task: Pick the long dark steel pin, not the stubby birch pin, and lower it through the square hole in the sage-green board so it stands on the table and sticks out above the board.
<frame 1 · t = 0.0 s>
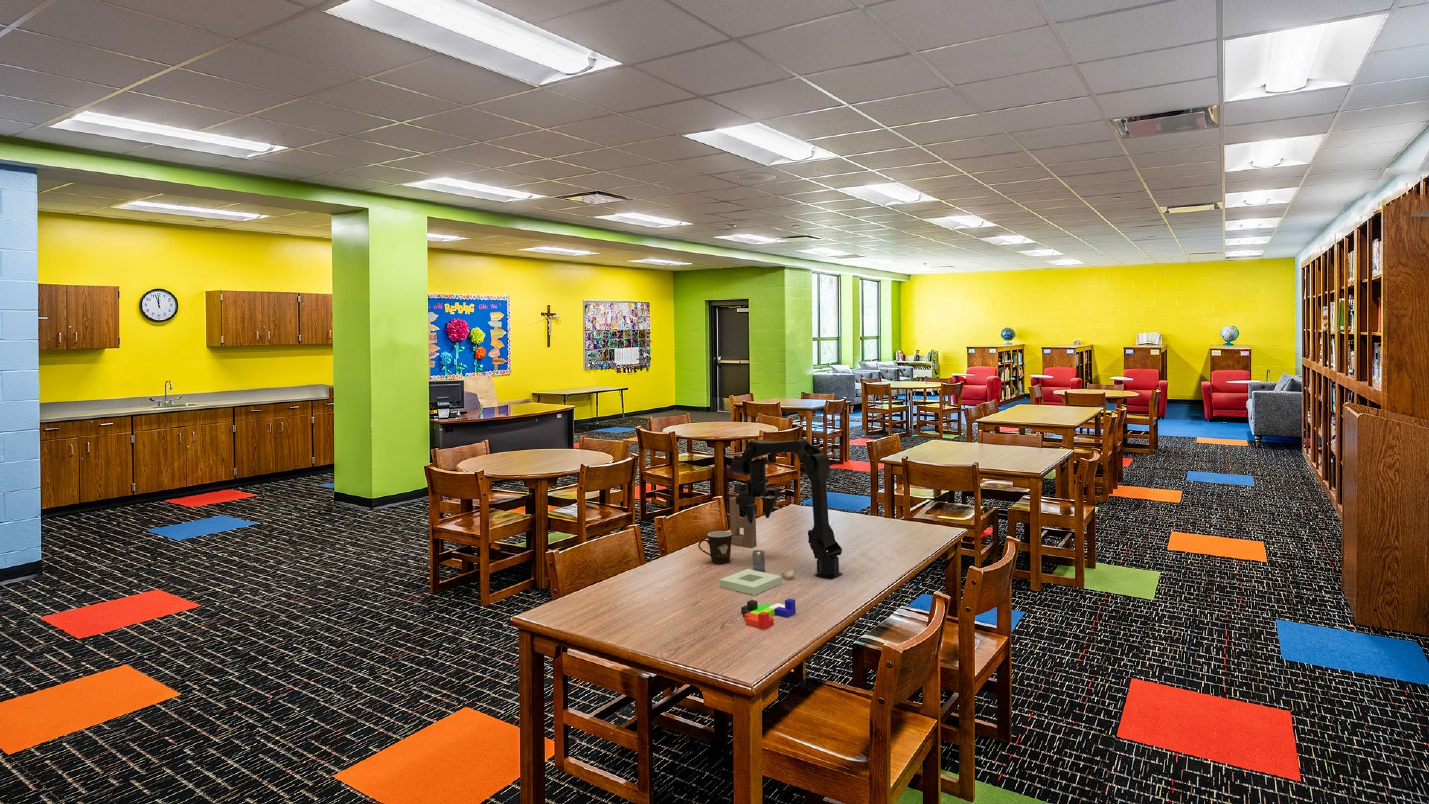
hand: (759, 520, 273), 15 cm above the table, tool pointing down, fingers open, 9 cm apart
wooden block: (742, 545, 297), on the table
building blocks: (761, 618, 219), on the table
short birch pin: (788, 578, 254), on the table
long steel pin: (759, 572, 262), on the table
coffee mug: (716, 562, 276), on the table
hole board: (751, 585, 247), on the table
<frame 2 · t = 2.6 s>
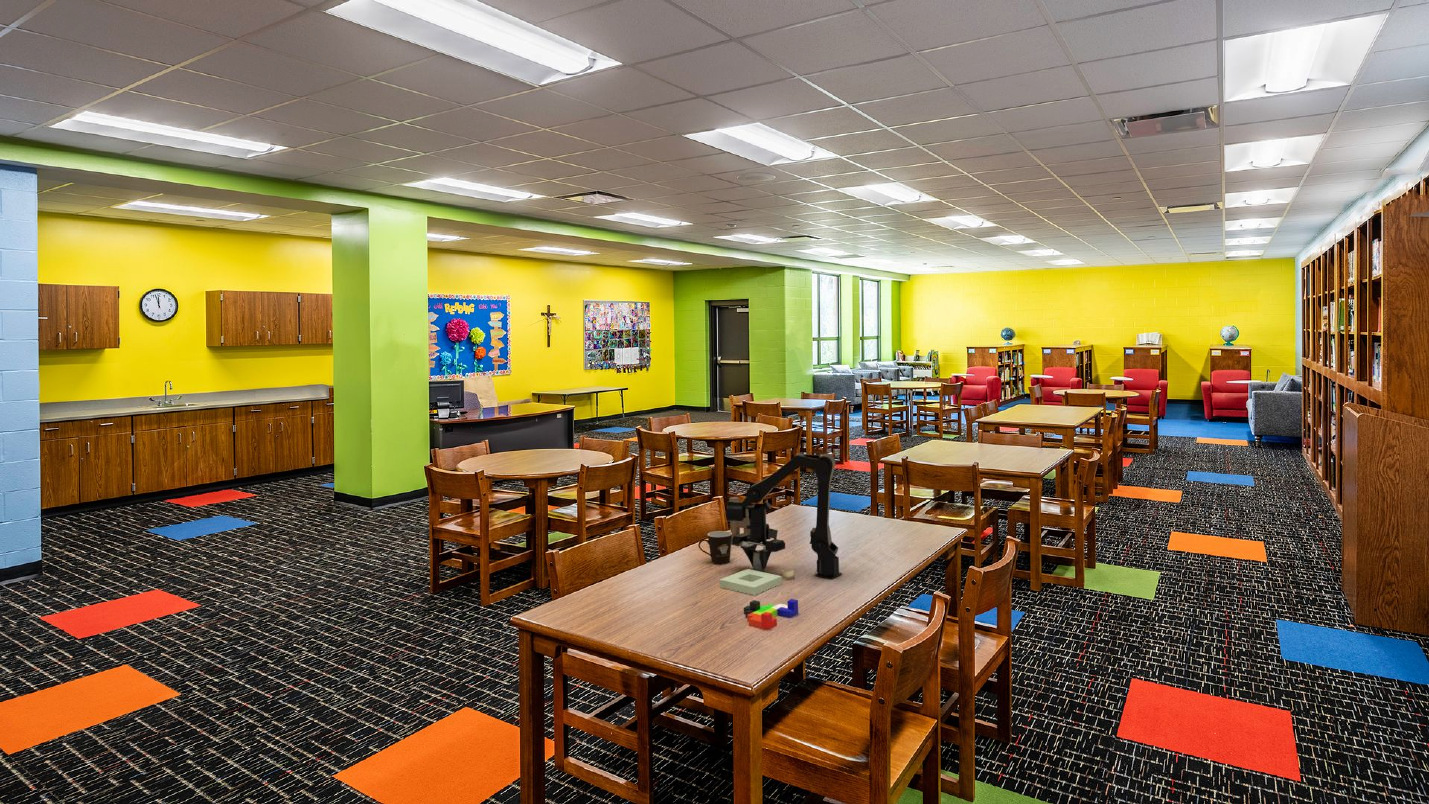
hand: (759, 567, 262), 2 cm above the table, tool pointing down, fingers closed on long steel pin, 4 cm apart
long steel pin: (759, 572, 262), on the table, touching gripper
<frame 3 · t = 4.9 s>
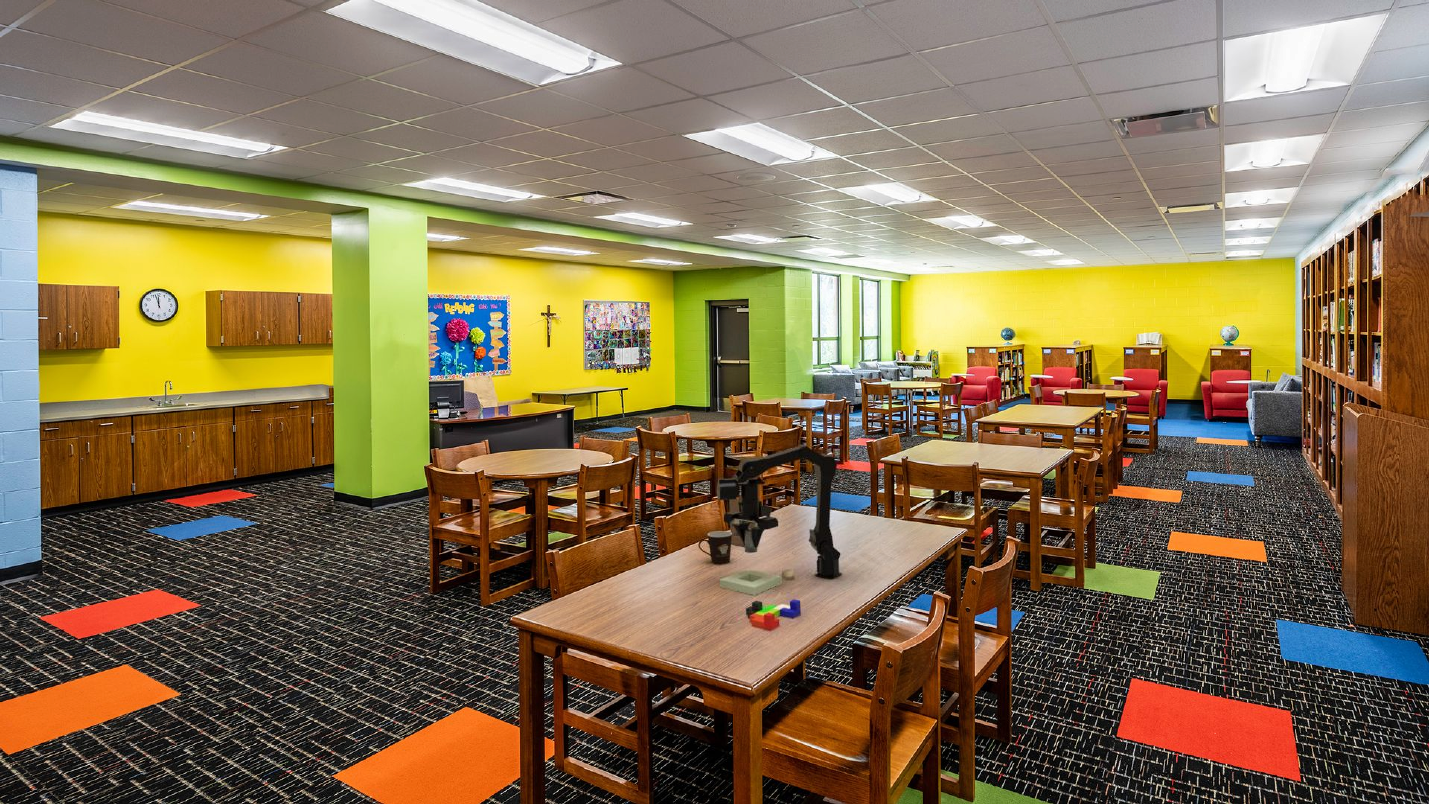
hand: (751, 546, 250), 12 cm above the table, tool pointing down, fingers closed on long steel pin, 4 cm apart
long steel pin: (751, 551, 250), point 10 cm above the table, touching gripper
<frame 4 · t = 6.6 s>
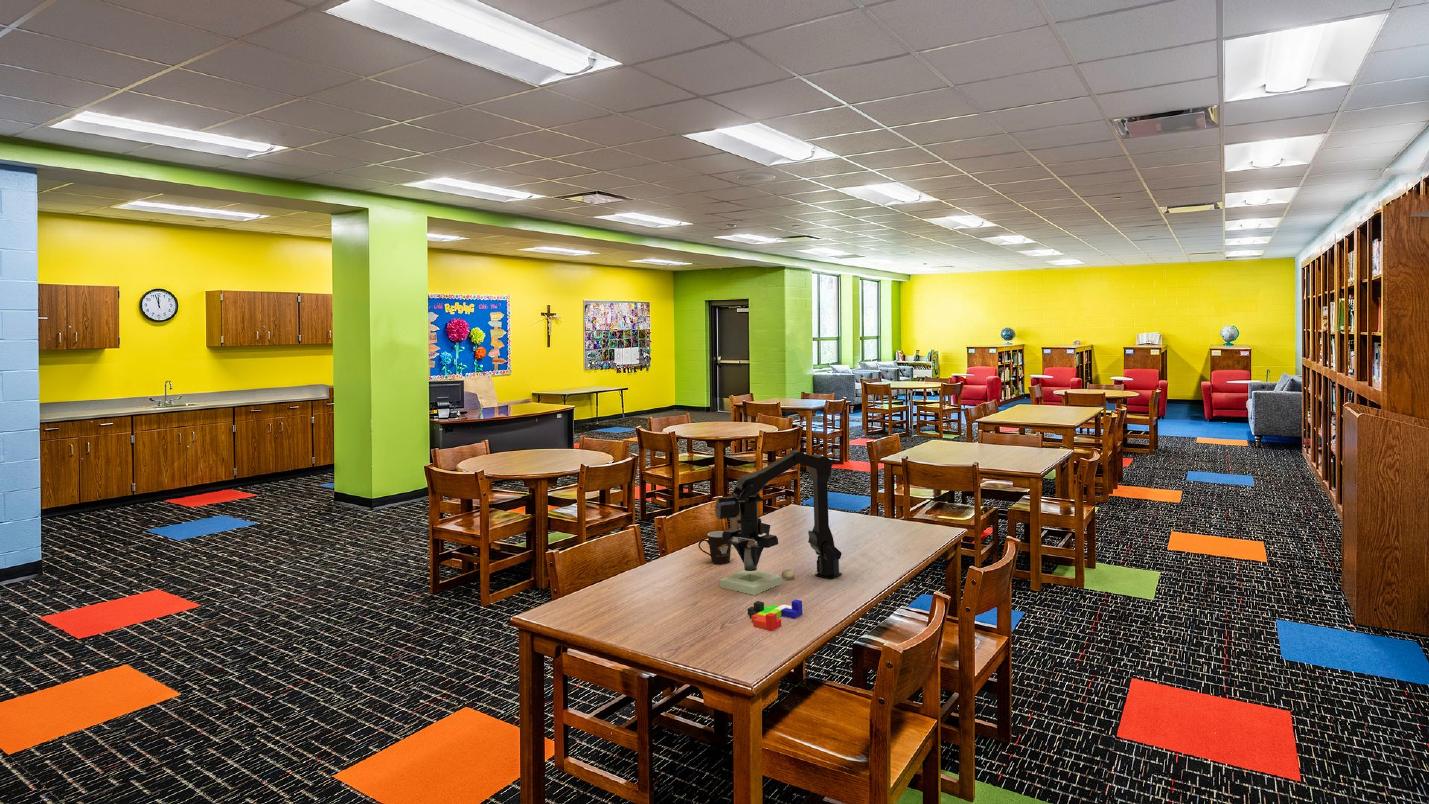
hand: (750, 564, 247), 7 cm above the table, tool pointing down, fingers closed on long steel pin, 4 cm apart
long steel pin: (750, 569, 247), point 5 cm above the table, touching gripper
when the fingers open (3 cm above the table, at t = 7.7 s): long steel pin drops 2 cm, resting in hole board.
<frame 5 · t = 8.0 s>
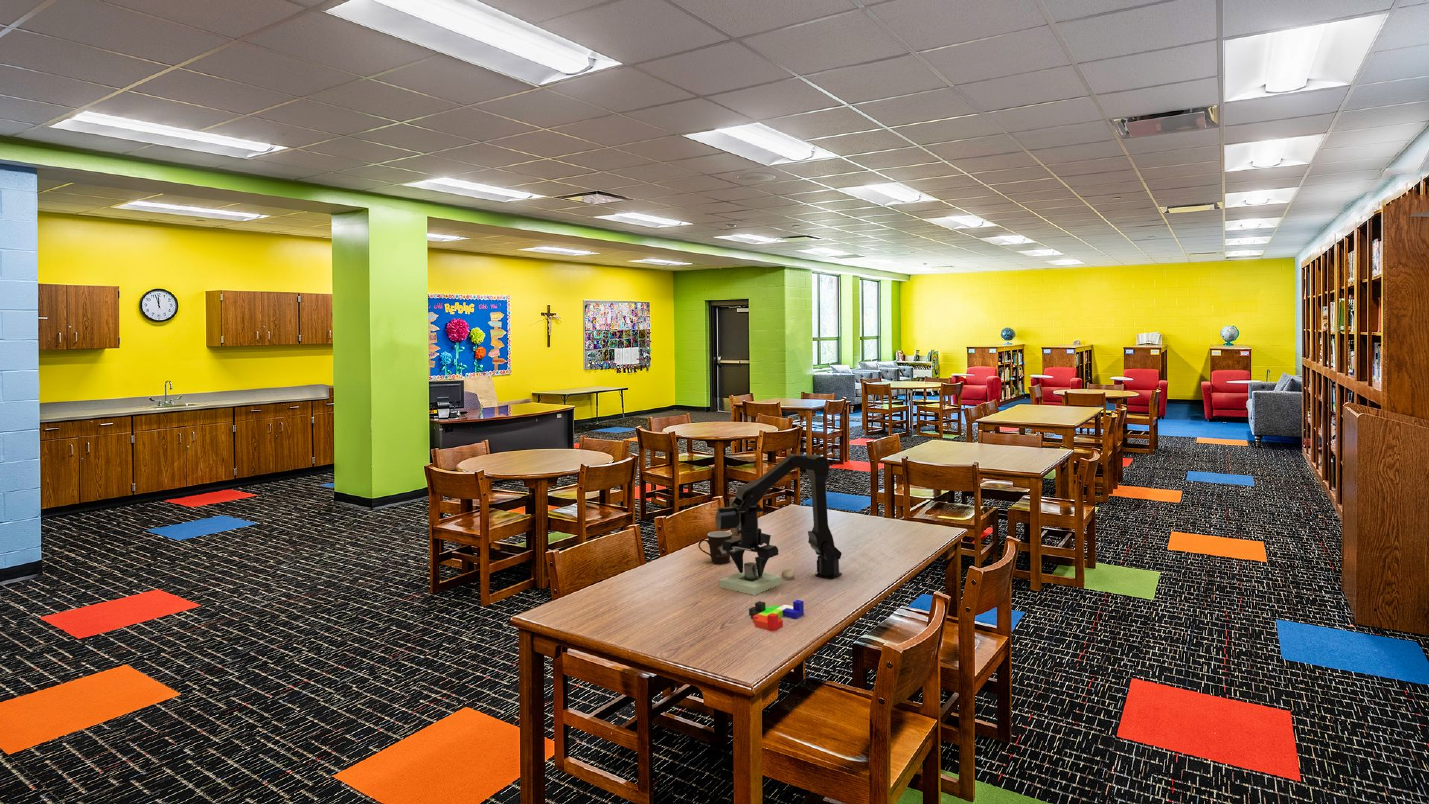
hand: (750, 574, 247), 3 cm above the table, tool pointing down, fingers open, 7 cm apart
long steel pin: (751, 585, 247), resting in hole board
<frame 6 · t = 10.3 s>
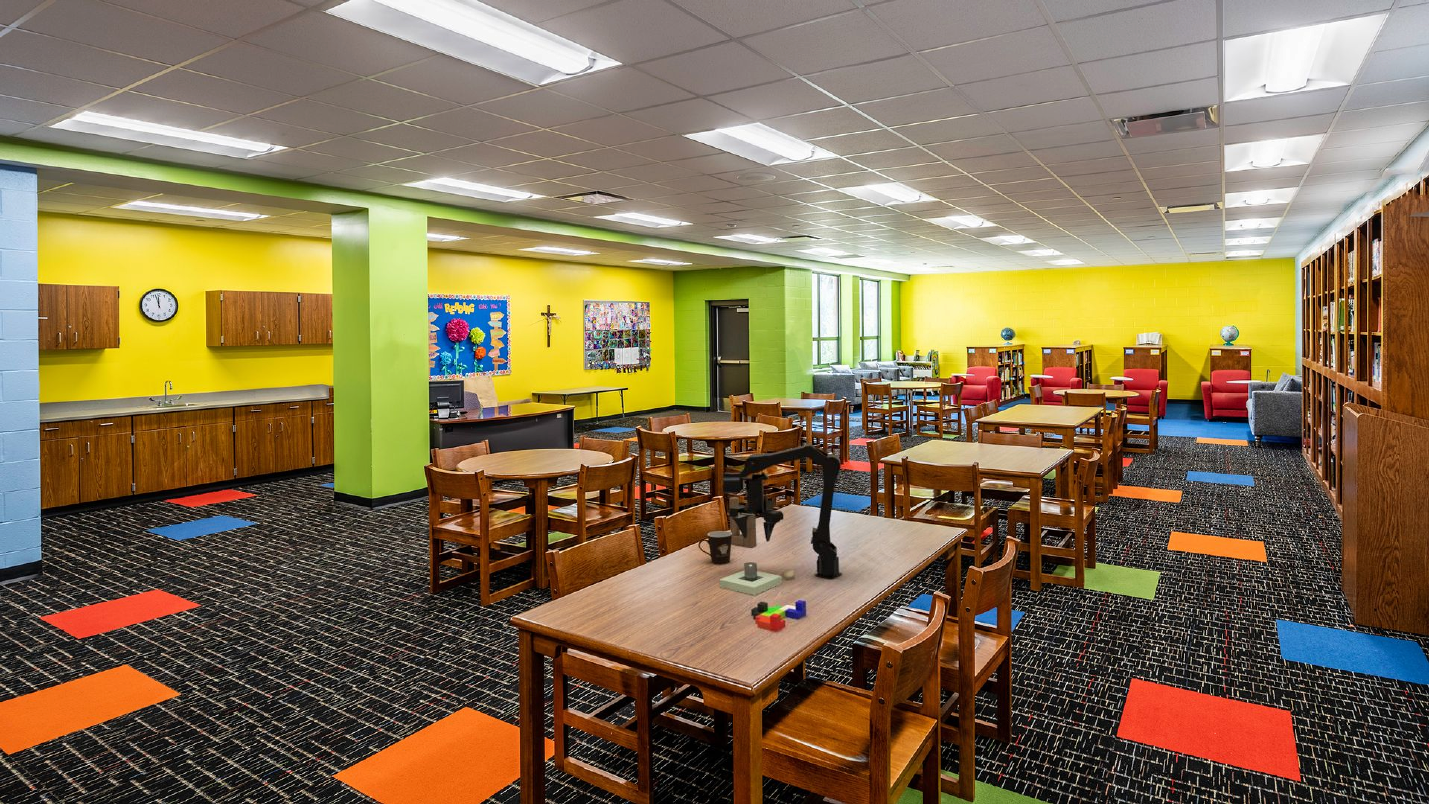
hand: (756, 539, 258), 12 cm above the table, tool pointing down, fingers open, 9 cm apart
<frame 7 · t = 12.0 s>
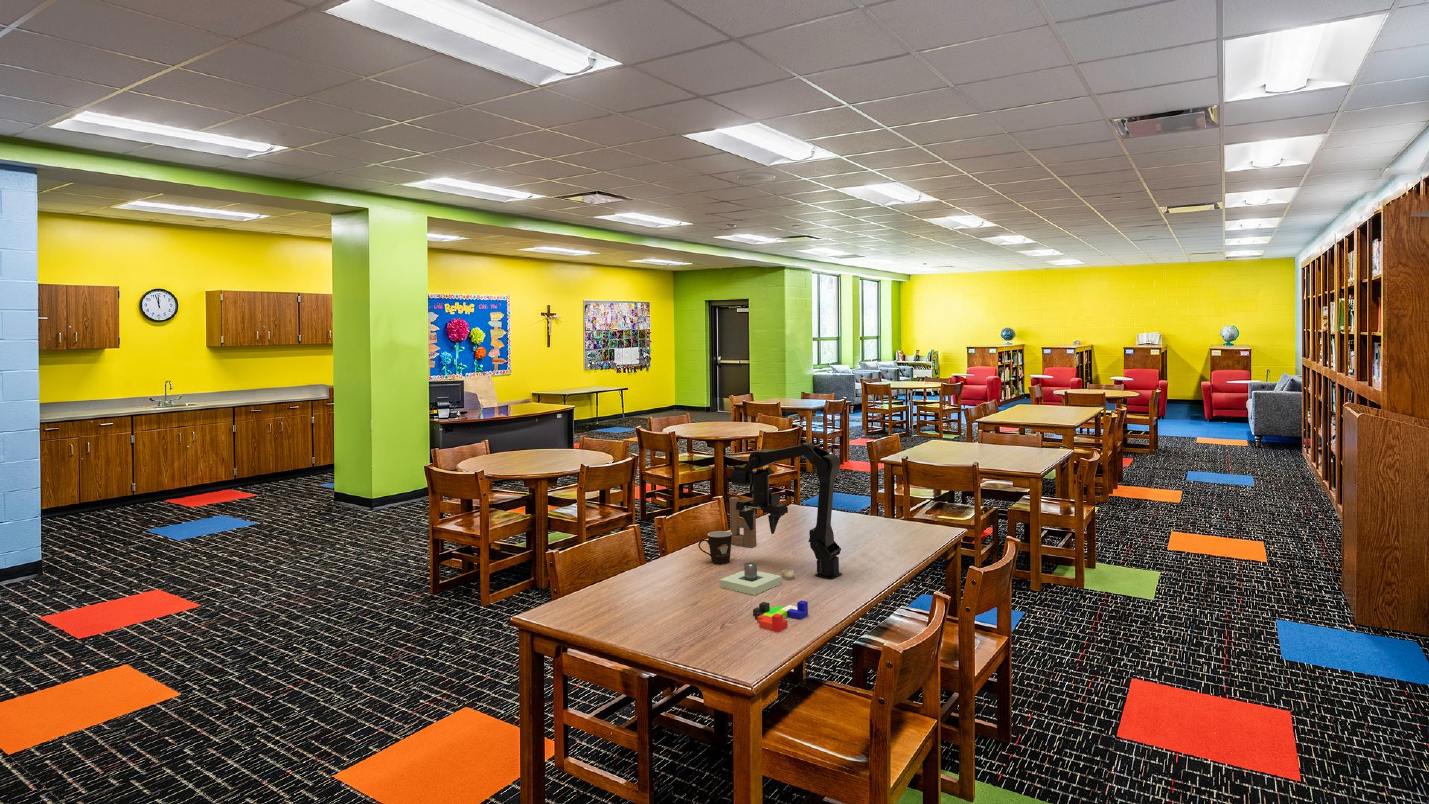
hand: (762, 532, 267), 12 cm above the table, tool pointing down, fingers open, 9 cm apart
at the end: long steel pin 0.0 cm off-centre on the hole board, point 0.0 cm above the hole board's base; long steel pin tilted 0°; short birch pin moved 0.1 cm from its start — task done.
